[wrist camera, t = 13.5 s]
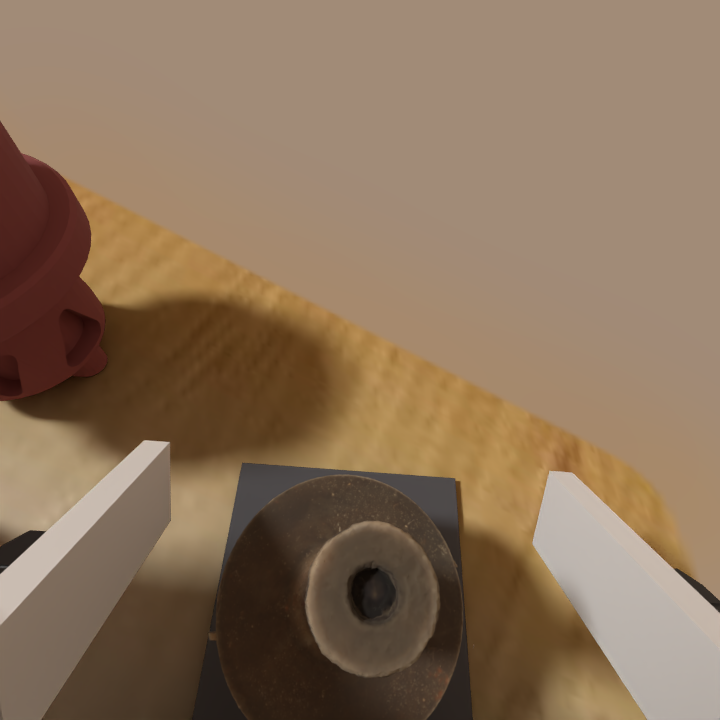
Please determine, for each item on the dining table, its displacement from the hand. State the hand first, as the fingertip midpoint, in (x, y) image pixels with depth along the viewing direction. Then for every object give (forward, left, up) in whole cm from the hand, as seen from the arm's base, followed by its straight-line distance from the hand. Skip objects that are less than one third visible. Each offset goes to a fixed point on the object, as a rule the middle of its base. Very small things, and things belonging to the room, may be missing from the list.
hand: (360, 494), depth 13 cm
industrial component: (0, -3, -6) cm, 7 cm away
